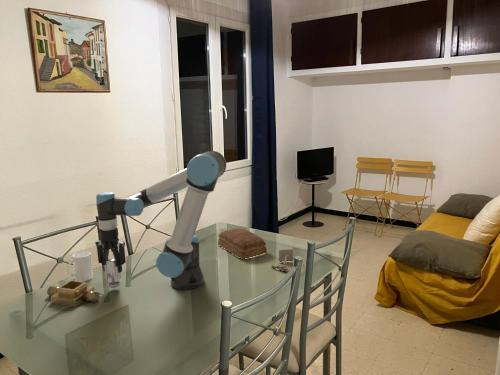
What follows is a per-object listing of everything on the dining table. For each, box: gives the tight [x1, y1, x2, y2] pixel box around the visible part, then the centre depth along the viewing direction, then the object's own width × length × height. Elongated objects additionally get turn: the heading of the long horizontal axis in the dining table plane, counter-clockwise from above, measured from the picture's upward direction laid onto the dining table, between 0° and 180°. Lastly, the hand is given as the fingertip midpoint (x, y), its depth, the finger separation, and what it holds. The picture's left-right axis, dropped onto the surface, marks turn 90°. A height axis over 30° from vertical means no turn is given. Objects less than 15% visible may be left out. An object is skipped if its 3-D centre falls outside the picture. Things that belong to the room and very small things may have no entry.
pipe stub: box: [106, 257, 121, 289], centre depth 169 cm, size 5×5×12 cm
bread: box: [217, 227, 268, 259], centre depth 217 cm, size 17×29×11 cm, turn 32°
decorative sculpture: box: [270, 248, 294, 273], centre depth 195 cm, size 16×10×7 cm, turn 164°
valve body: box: [46, 279, 101, 308], centre depth 163 cm, size 23×12×6 cm, turn 75°
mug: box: [66, 250, 94, 282], centre depth 181 cm, size 12×8×12 cm
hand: (113, 278), depth 170 cm, fingers closed on pipe stub, 5 cm apart
